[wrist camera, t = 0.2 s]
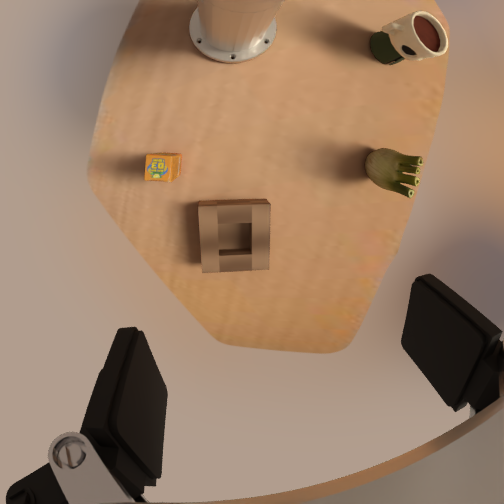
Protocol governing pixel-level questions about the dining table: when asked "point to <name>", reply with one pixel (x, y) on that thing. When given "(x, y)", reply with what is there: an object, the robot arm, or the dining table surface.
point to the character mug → (410, 39)
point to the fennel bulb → (393, 170)
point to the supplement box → (162, 167)
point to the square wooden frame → (234, 235)
